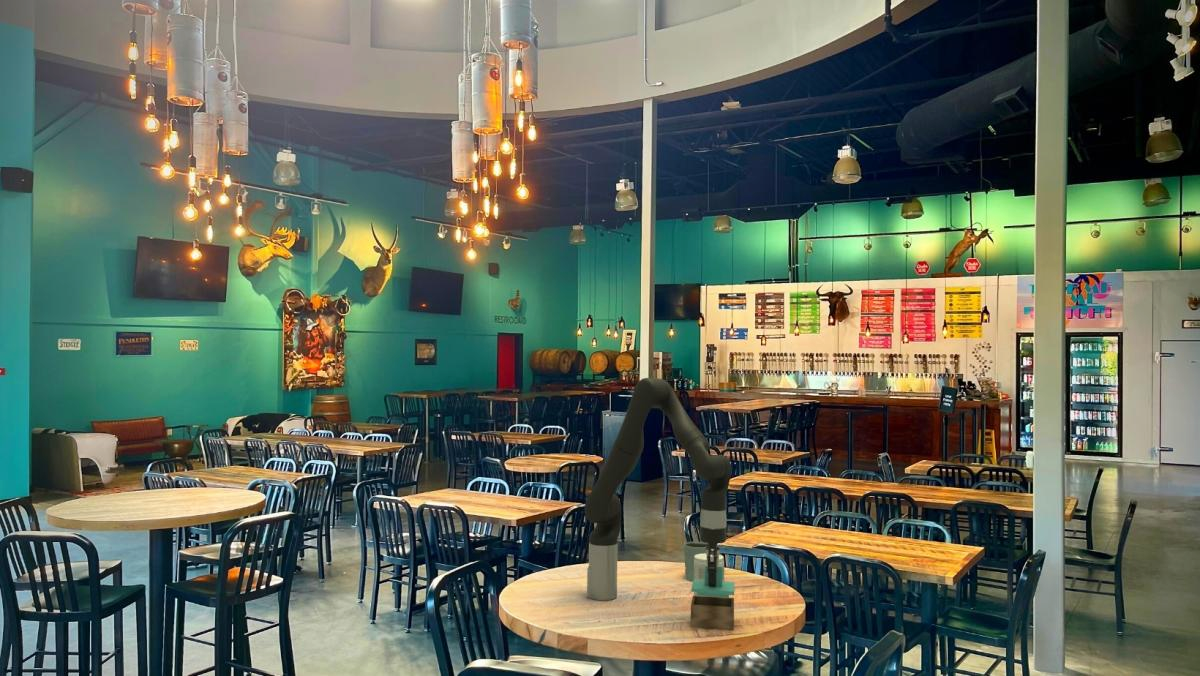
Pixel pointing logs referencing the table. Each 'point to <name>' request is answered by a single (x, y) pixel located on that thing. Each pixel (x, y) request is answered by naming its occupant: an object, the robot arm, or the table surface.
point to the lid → (719, 591)
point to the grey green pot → (692, 556)
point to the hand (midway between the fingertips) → (712, 584)
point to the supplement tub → (700, 567)
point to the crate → (712, 612)
